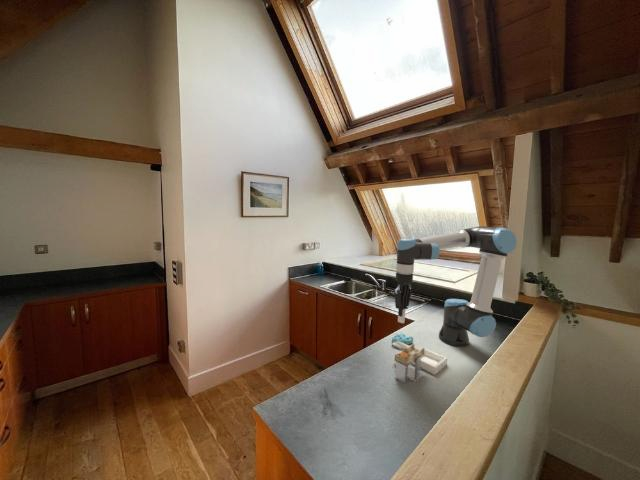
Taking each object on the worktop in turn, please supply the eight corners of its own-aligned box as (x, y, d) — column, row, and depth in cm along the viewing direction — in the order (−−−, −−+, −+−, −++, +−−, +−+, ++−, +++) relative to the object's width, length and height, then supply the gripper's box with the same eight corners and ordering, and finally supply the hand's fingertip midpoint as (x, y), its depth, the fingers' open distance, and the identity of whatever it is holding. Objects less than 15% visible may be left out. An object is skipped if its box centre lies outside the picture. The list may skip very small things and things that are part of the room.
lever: (397, 342, 127) (397, 337, 127) (424, 354, 117) (424, 348, 117) (378, 352, 117) (379, 347, 117) (406, 366, 107) (406, 360, 107)
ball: (402, 356, 113) (402, 349, 113) (409, 359, 111) (409, 352, 110) (398, 359, 111) (398, 352, 111) (405, 362, 109) (405, 355, 108)
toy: (416, 335, 145) (405, 341, 134) (415, 343, 145) (404, 350, 134) (399, 329, 152) (387, 335, 140) (398, 337, 152) (386, 344, 140)
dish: (422, 354, 131) (422, 347, 131) (446, 365, 123) (447, 357, 122) (409, 363, 124) (410, 355, 123) (435, 375, 115) (435, 367, 114)
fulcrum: (403, 365, 121) (404, 348, 120) (423, 375, 114) (424, 357, 113) (389, 375, 114) (390, 356, 113) (410, 386, 107) (411, 366, 106)
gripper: (404, 269, 127) (401, 316, 130) (389, 272, 118) (386, 323, 121) (419, 272, 121) (415, 321, 124) (404, 276, 113) (400, 328, 115)
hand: (401, 322), depth 122 cm, fingers closed
